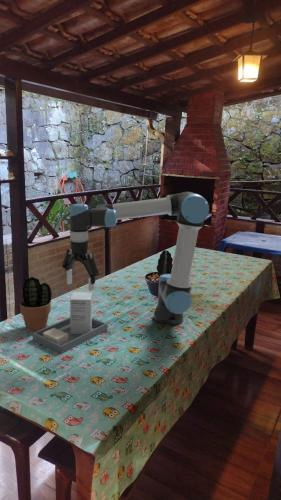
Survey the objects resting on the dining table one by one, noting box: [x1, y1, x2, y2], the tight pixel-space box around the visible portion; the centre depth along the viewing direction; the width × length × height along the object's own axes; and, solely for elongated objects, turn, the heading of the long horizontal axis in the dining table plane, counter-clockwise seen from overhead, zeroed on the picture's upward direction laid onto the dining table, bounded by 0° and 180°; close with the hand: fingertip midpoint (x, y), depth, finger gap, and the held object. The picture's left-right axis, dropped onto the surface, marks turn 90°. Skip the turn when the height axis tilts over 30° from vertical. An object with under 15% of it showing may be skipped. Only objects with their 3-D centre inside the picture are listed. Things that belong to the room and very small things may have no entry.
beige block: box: [43, 328, 68, 345], centre depth 156 cm, size 9×6×4 cm, turn 54°
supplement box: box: [69, 291, 93, 334], centre depth 166 cm, size 10×9×17 cm
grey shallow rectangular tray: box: [32, 316, 108, 354], centre depth 163 cm, size 18×28×4 cm, turn 144°
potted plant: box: [19, 276, 53, 332], centre depth 167 cm, size 14×14×25 cm
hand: (80, 287), depth 162 cm, fingers open, 13 cm apart
